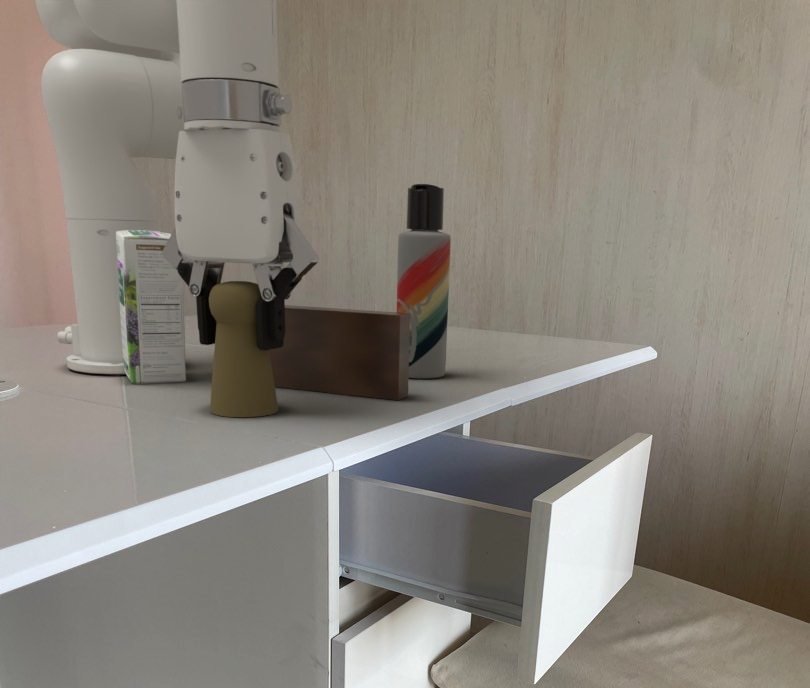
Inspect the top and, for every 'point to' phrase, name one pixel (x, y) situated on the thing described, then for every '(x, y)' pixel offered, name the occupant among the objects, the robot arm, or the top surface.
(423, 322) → the lotion bottle
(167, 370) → the syrup box
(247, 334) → the cork
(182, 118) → the robot arm
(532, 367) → the top surface
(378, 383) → the brown wooden block
